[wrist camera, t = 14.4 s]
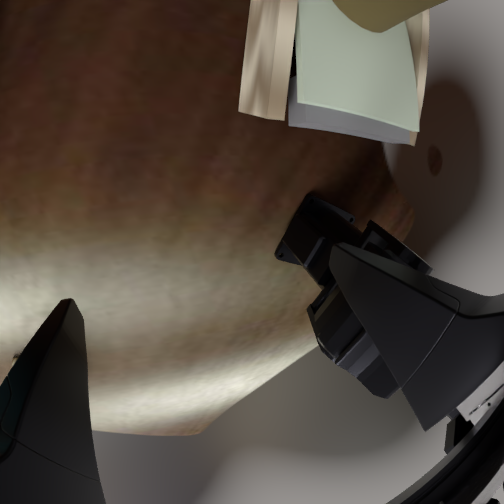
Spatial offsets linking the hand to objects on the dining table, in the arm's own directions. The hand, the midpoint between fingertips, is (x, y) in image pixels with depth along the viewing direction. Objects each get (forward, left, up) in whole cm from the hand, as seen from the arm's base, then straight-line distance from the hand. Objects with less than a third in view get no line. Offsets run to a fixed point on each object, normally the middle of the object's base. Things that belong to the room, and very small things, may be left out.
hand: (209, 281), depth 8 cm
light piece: (-6, -14, -10) cm, 18 cm away
